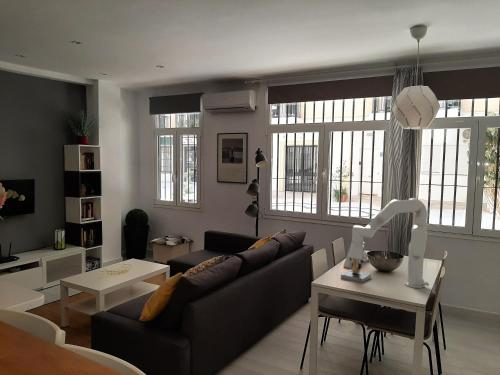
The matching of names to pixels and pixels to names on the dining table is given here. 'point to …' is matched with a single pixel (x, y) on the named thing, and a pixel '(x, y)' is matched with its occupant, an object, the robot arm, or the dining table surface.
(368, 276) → the rosette plate
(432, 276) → the dining table surface
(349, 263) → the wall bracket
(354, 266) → the locking peg
